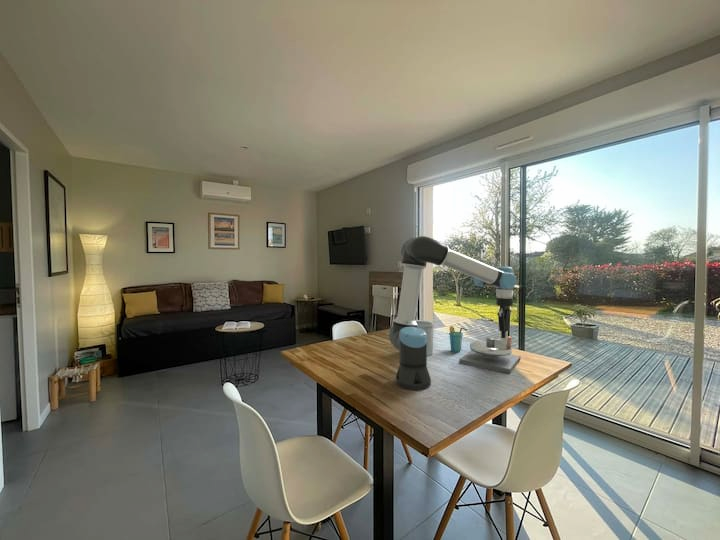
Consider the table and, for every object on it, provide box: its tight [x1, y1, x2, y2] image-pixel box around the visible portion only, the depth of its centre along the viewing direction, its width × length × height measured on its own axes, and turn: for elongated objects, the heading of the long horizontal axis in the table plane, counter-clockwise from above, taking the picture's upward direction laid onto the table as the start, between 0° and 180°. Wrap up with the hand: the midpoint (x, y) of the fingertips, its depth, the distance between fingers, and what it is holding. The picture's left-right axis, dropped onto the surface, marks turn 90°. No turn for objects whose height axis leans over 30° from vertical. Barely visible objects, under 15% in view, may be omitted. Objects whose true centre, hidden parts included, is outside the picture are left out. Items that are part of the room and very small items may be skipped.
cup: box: [448, 325, 468, 353], centre depth 175 cm, size 14×8×15 cm, turn 30°
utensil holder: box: [415, 319, 435, 357], centre depth 174 cm, size 15×15×18 cm
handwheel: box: [469, 336, 513, 356], centre depth 158 cm, size 20×20×8 cm
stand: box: [458, 349, 522, 374], centre depth 159 cm, size 24×24×6 cm
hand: (504, 343), depth 153 cm, fingers closed
